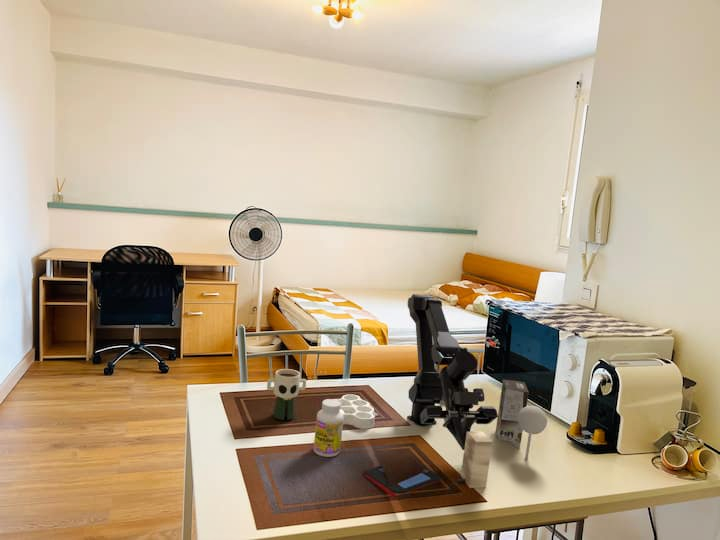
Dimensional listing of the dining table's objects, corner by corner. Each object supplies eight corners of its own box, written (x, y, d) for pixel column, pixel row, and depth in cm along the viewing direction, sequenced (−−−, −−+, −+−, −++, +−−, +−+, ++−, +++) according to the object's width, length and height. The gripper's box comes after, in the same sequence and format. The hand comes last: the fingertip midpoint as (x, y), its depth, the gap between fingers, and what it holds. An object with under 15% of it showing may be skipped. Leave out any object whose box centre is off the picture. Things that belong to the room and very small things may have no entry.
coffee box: (520, 448, 141) (529, 392, 139) (496, 443, 142) (505, 388, 140) (517, 434, 150) (525, 381, 148) (495, 430, 151) (502, 378, 149)
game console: (406, 461, 128) (407, 453, 128) (443, 486, 118) (444, 477, 118) (360, 475, 119) (361, 466, 119) (396, 503, 109) (397, 494, 109)
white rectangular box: (452, 476, 120) (458, 431, 118) (476, 475, 121) (482, 431, 120) (461, 487, 115) (467, 441, 113) (485, 487, 116) (492, 441, 115)
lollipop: (540, 458, 136) (548, 405, 134) (540, 471, 129) (549, 414, 128) (512, 452, 138) (520, 399, 136) (511, 463, 132) (519, 408, 130)
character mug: (265, 422, 140) (269, 377, 138) (263, 412, 147) (266, 368, 145) (305, 422, 143) (309, 377, 142) (300, 411, 150) (304, 368, 148)
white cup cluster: (320, 405, 157) (365, 404, 162) (335, 431, 140) (385, 429, 145) (321, 394, 157) (366, 393, 161) (336, 420, 140) (386, 418, 145)
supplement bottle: (308, 453, 126) (313, 403, 124) (320, 442, 132) (325, 395, 130) (333, 460, 124) (338, 410, 122) (344, 449, 130) (349, 401, 128)
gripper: (430, 374, 124) (440, 439, 115) (500, 376, 128) (515, 439, 119) (415, 392, 133) (424, 453, 124) (481, 393, 137) (494, 453, 128)
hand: (465, 449), depth 123 cm, fingers closed
